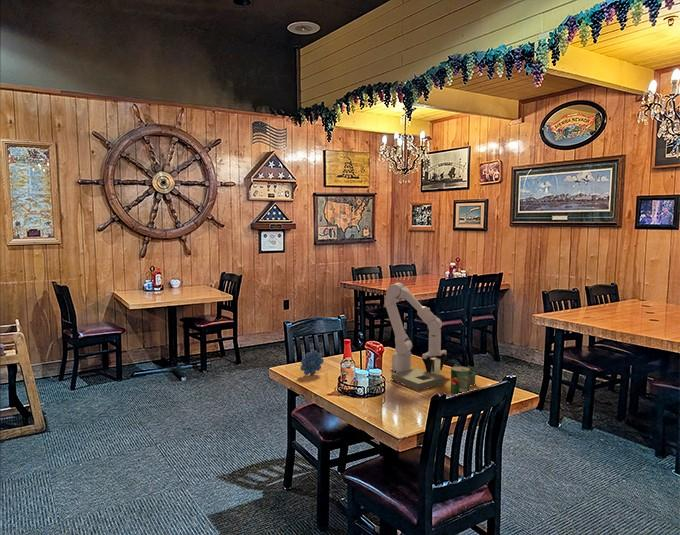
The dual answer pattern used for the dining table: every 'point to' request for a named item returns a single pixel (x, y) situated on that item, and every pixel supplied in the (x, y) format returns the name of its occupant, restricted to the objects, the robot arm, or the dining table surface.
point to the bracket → (472, 375)
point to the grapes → (311, 362)
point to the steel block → (435, 366)
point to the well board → (417, 378)
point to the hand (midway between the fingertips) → (434, 371)
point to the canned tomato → (459, 379)
